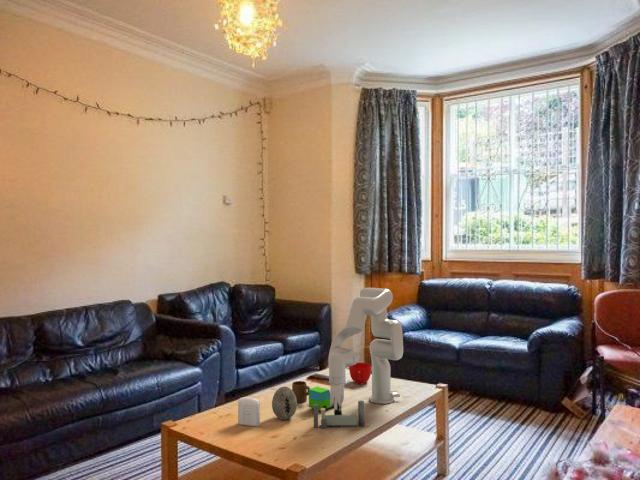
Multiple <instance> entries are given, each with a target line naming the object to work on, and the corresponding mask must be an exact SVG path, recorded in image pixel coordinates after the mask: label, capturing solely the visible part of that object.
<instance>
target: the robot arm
mask: <svg viewBox="0 0 640 480" xmlns="http://www.w3.org/2000/svg"><path fill="white" fill-rule="evenodd" d="M393 299H394V294H393V292H392V291H391V290H390V289H388V288H378V287H364V288H363V287H362V289H360V290H359V296H356V297H355V298H354V299H353V300H352V303H351V307H350V310H349V314H348V317H347V319H346V323H345V325H344V326H343V327H342V328H341V329H340V330H339V331H338V332H337V333H336V334H335V335H334V337H333V339H332V341H331V345H330V348H329V352H328V353H329V354H328V383H329V384H330V387H329V388H330V389H329V391H330V406H332V405H333V404H334V408H333V415H343V413H342V411H343V410H342V408H343V407H342V405H343V402H344V400H345V389H344V388H345V387H344V385H345V384H346V379H347V378H346V367H349V366H353V365H355V364H356V363H359V360H360V354H359V352H358V351H357V350H356V349H352V348H347V347H342V345H343V343H344V342H345V341H346V340H347V339H349V338H350V337H352V336H354V335H358V334H360V333H362V332H363V331H364V328H365V324H366V320H367V317H368V316H370V325H371V326H370V327H371V333H372V335H373V336H374V337H376V338H375V339H373V340H372V341H371V342H370V343H369V354H370V358H371V359H370V360H371V394H372V395H370V396H369V401H370V402H371V403H373V404H379V405H385V404H387V405H388V404H391V403H394V401H395V398H400V396H401V393H400V392H396V391H393V392H392V389H391V386H392V385H391V364H390V362H389V360H390V361H391V360H392V361H399V360H401V359H402V358H403V354H404V339H403V326H402V324H401V322H399V321H398V320H396V319H389V318H388V312H387V308H389V306H390V305H391V304H392V302H393ZM381 338H382V339H381Z"/></svg>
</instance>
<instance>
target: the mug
mask: <svg viewBox="0 0 640 480" xmlns="http://www.w3.org/2000/svg"><path fill="white" fill-rule="evenodd" d="M309 389H311V388H310V386H308V385H307V382H306V381H303V380H302V381H301V380H299V381H298V380H297V381H293V382H292V384H291V390H292V391H293V392H294V394H295V396H296V399H297V404H304V403H306V402H307V400H308V397H309Z"/></svg>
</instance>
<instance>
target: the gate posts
mask: <svg viewBox="0 0 640 480" xmlns="http://www.w3.org/2000/svg"><path fill="white" fill-rule="evenodd" d="M312 410H313V429H318V428H319V429H321V430H327V429H328V428H329V429H331V428H334V429H335V428H358V427H360V428H365V427H366V426H365V421H366V420H365V419H366V416H365V413H366V412H365V401H364V400H358V401H357V412H358V417H357V418H358V421H357V422H358V423H356V425H327V420H326V419H320V424H319V410H318V404H313V409H312Z"/></svg>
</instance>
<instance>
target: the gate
mask: <svg viewBox="0 0 640 480" xmlns="http://www.w3.org/2000/svg"><path fill="white" fill-rule="evenodd" d="M351 412H352V413H351V414H342V415H334V414H326V411H325V408H321V411H320V413H321V416H320V418H321V419H326V420H327V425H356V424H357V412H356V411H351ZM321 419H320V420H321Z"/></svg>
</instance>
